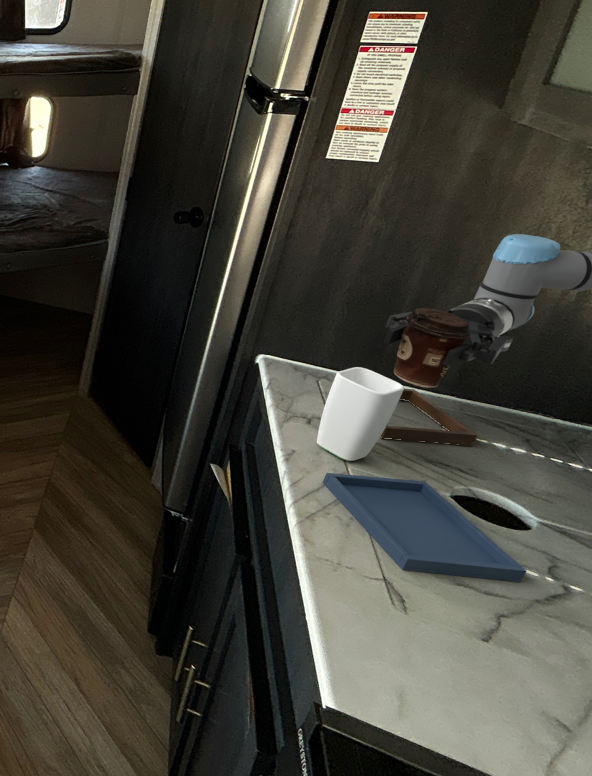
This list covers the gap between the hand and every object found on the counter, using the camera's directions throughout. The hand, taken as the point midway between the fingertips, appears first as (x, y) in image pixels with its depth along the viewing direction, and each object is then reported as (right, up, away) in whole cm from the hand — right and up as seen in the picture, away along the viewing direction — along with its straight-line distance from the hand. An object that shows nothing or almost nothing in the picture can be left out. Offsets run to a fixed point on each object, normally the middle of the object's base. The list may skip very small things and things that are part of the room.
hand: (417, 347), depth 112 cm
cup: (-14, -19, 0) cm, 23 cm away
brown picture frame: (+4, -15, +8) cm, 18 cm away
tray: (-18, -25, -17) cm, 35 cm away
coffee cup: (+4, -7, +5) cm, 9 cm away
